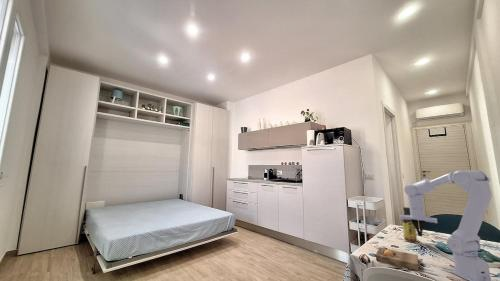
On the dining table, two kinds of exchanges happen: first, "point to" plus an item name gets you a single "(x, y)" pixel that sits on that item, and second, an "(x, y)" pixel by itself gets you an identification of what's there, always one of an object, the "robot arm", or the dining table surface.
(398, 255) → the board
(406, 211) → the sauce bottle
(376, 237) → the dining table surface
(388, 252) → the ball
